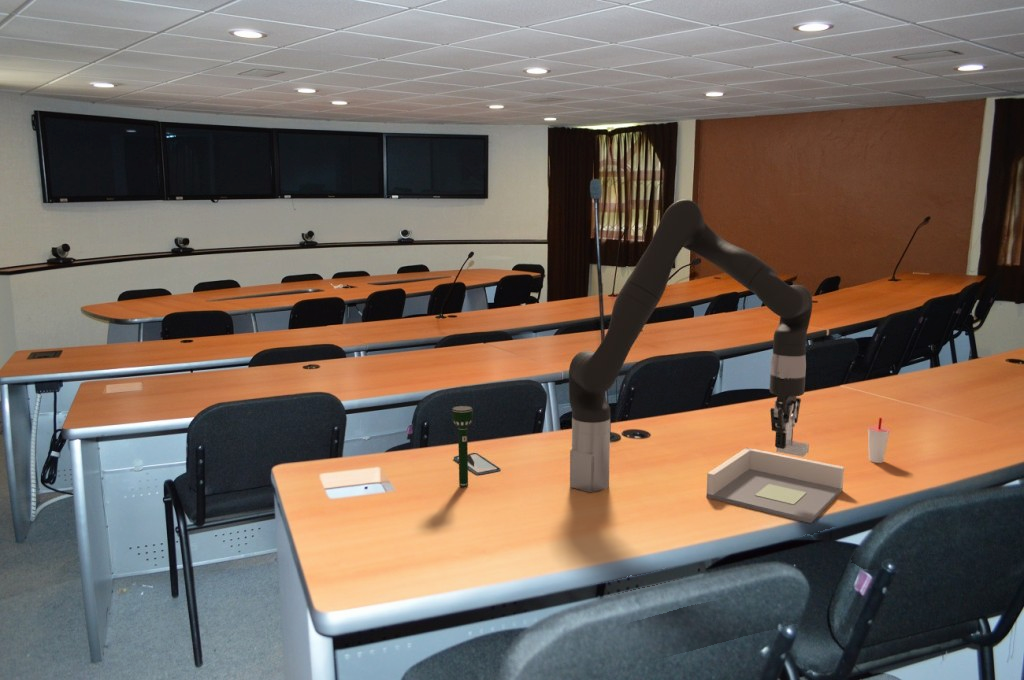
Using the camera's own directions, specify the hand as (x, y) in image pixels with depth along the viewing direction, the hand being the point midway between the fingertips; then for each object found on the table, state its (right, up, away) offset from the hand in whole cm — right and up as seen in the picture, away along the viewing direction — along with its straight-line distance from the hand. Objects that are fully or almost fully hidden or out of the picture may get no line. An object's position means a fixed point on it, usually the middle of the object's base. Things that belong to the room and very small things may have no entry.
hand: (783, 444), depth 174 cm
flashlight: (-75, -12, +11) cm, 77 cm away
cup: (+35, -8, +28) cm, 45 cm away
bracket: (+2, -1, -1) cm, 2 cm away
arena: (0, -12, +5) cm, 13 cm away
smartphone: (-72, -10, +27) cm, 78 cm away
